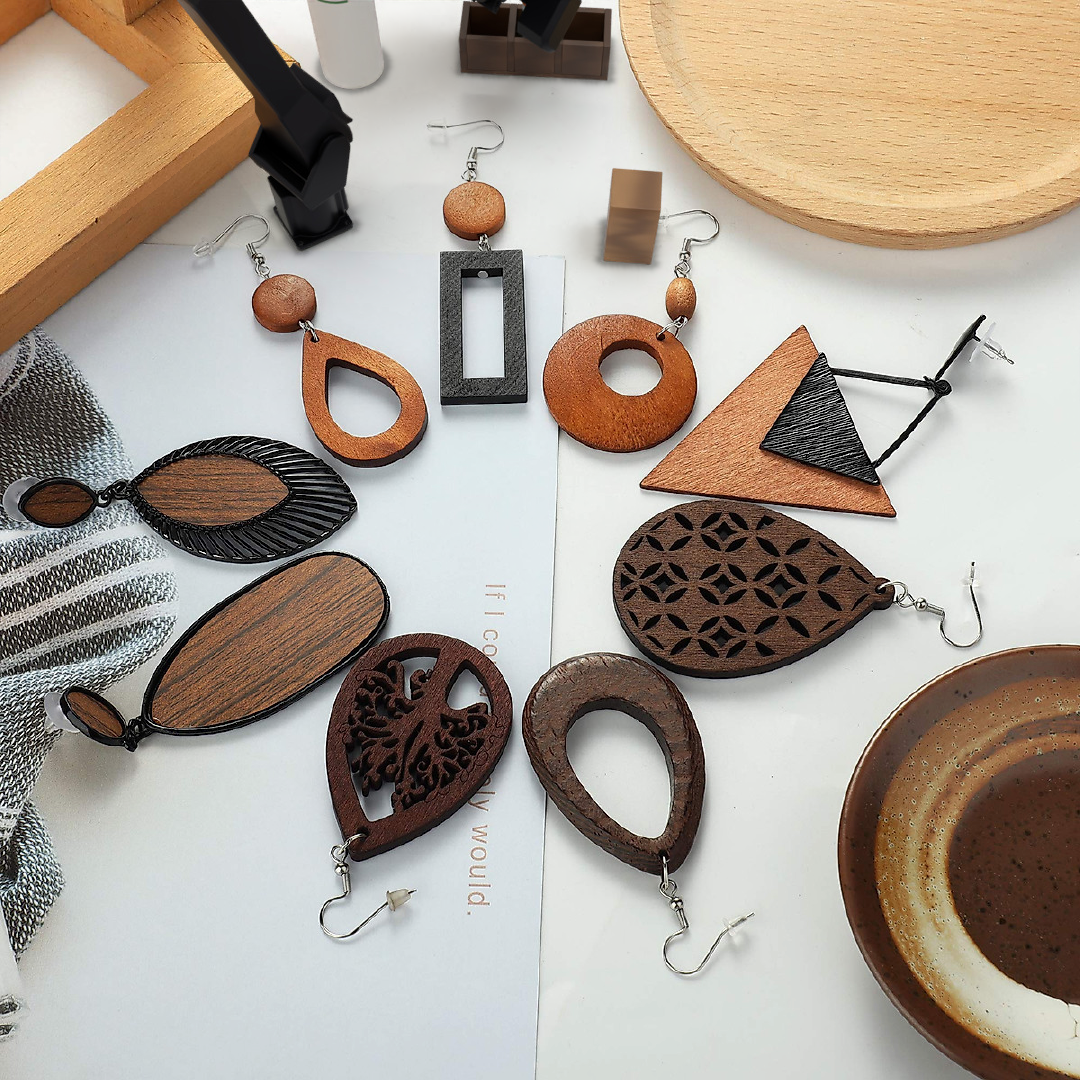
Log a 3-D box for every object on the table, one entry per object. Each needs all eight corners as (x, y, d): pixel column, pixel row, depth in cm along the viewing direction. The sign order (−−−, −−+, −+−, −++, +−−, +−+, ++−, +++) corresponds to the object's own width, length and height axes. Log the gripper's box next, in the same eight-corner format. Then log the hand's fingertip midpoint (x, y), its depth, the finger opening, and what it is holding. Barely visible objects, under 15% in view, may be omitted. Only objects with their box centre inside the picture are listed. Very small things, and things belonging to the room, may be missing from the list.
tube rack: (460, 72, 113) (458, 38, 109) (465, 35, 115) (463, 0, 111) (607, 80, 113) (610, 46, 108) (608, 42, 115) (611, 8, 111)
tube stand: (603, 261, 102) (609, 206, 95) (606, 223, 104) (612, 167, 97) (651, 264, 102) (660, 210, 95) (652, 227, 104) (662, 171, 97)
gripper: (574, -86, 88) (640, -29, 102) (431, -177, 93) (513, -111, 107) (513, 34, 93) (584, 73, 106) (381, -59, 98) (465, -11, 111)
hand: (537, 3), depth 108 cm, fingers open, 9 cm apart
